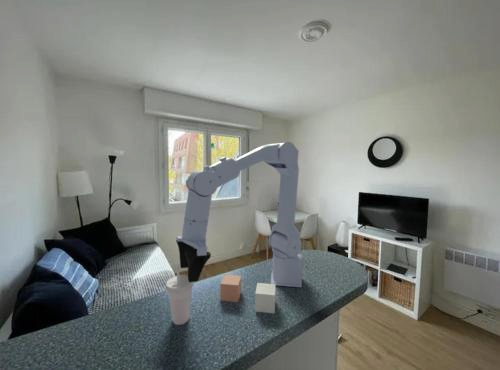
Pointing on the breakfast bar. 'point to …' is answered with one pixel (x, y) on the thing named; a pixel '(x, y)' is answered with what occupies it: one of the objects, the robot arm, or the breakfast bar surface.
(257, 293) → the offwhite cube
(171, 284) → the white cup with straw
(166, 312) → the breakfast bar surface
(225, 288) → the terracotta cube
